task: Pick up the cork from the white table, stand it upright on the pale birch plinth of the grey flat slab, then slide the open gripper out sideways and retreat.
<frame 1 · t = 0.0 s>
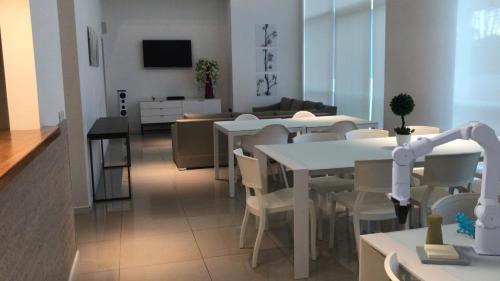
hand: (400, 220, 164), 10 cm above the table, fingers open, 7 cm apart
grey flat slab: (440, 256, 157), on the table
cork: (434, 245, 168), on the table
blue lumpy cluster: (467, 234, 178), on the table
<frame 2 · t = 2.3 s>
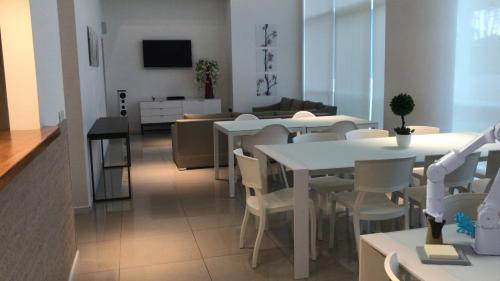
hand: (434, 235, 167), 3 cm above the table, fingers closed on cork, 5 cm apart
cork: (434, 245, 168), on the table, touching gripper
everything else where it was.
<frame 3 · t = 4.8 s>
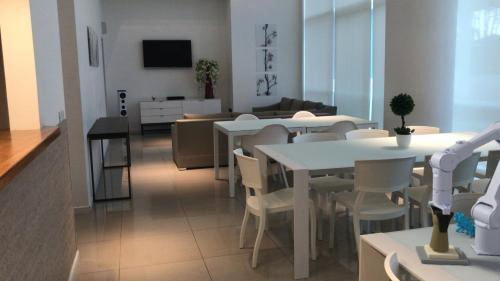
hand: (441, 229, 156), 9 cm above the table, fingers closed on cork, 5 cm apart
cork: (439, 247, 157), point 3 cm above the table, touching gripper
everything else where it was.
when the fingers open (7 cm above the table, at t = 6.2 s): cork stays where it is, resting on grey flat slab.
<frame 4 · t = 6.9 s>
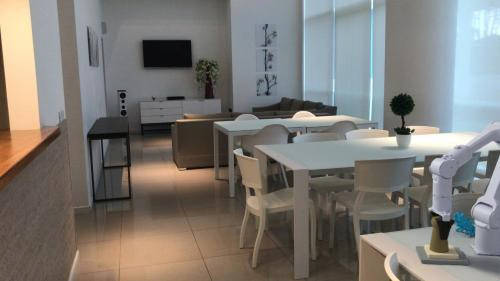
hand: (441, 235, 156), 7 cm above the table, fingers open, 7 cm apart
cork: (439, 250, 157), point 2 cm above the table, touching grey flat slab
everything else where it was.
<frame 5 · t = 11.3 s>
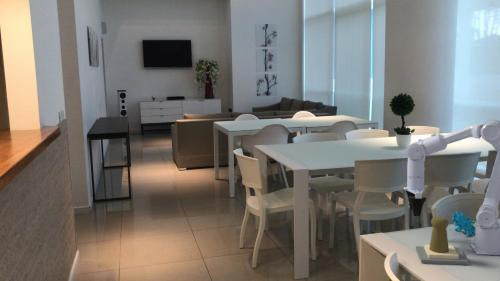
hand: (415, 212, 171), 10 cm above the table, fingers open, 7 cm apart
at the end: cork 0.6 cm off-centre on the grey flat slab, point 2.3 cm above the grey flat slab's base; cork tilted 0°; the gripper is holding nothing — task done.
